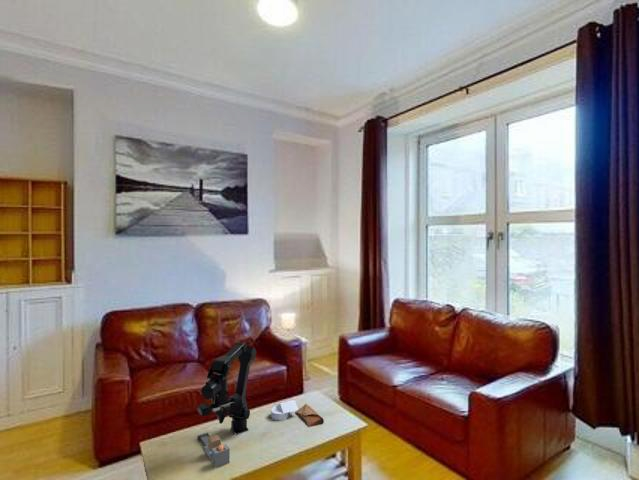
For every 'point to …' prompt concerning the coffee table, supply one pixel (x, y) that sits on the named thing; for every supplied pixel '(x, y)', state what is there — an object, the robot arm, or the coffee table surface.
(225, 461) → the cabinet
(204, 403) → the robot arm
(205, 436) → the rail
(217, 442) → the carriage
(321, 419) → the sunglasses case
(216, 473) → the coffee table surface
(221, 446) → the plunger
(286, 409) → the wedge on round base
